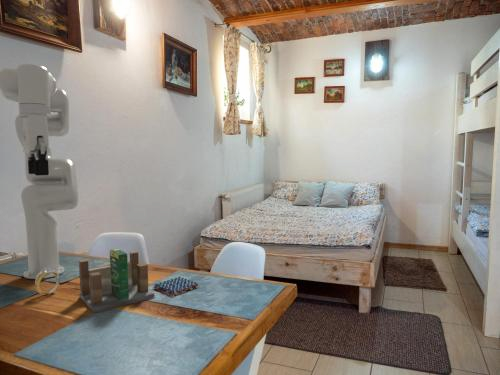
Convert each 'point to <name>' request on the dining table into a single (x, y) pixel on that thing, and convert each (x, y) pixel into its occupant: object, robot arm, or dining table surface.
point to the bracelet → (43, 276)
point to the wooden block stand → (100, 290)
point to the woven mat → (175, 286)
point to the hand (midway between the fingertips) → (38, 174)
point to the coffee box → (119, 274)
